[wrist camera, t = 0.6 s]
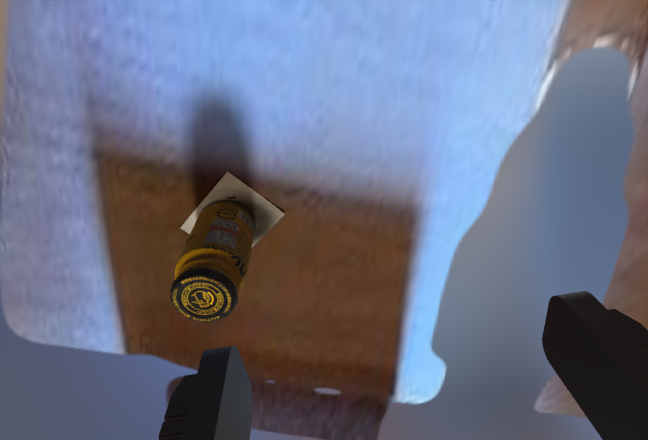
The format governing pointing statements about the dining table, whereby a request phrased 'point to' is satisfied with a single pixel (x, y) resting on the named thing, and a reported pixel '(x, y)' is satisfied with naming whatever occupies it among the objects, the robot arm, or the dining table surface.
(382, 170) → the dining table surface
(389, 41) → the dining table surface
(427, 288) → the dining table surface
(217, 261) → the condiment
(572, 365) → the robot arm
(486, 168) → the dining table surface
